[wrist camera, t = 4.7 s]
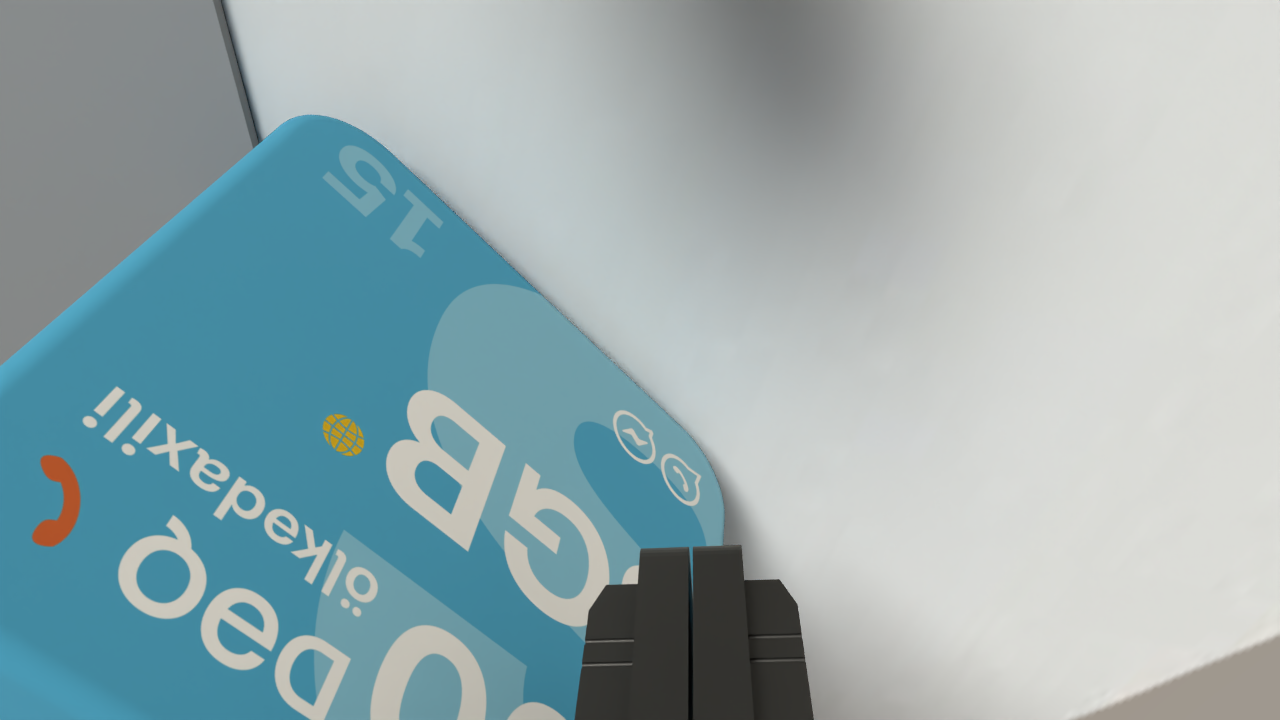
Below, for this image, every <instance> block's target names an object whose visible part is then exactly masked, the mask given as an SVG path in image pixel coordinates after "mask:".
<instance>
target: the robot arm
mask: <svg viewBox="0 0 1280 720" xmlns="http://www.w3.org/2000/svg"><path fill="white" fill-rule="evenodd" d="M574 720H814V718H813V711H812V704H811V697H810V690H809V683H808V676H807V669H806V663H805V655H804V648H803V641H802V635H801V626H800V619H799V612H798V605H797V603H796V602H795V600H794V599H793V598H792V596H791V595H790V593H789V592H788V591H787V589H786V588H785V587H784V585H783V584H782V582H781V581H780V580H779V579H778V580H744V574H743V561H742V548H741V545H725V546H694V547H693V591H692V576H691V562H690V550H689V547H670V548H641V550H640V558H639V573H638V584H617V585H606V586H605V587H604V589H603V590H602V592H601V593H600V595H599V596H598V598H597V599H596V600H595V602H594V603H593V605H592V606H591V608H590V609H589V612H588V620H587V628H586V635H585V645H584V650H583V658H582V668H581V673H580V681H579V689H578V696H577V704H576V711H575V719H574Z"/></svg>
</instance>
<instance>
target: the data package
mask: <svg viewBox="0 0 1280 720" xmlns="http://www.w3.org/2000/svg"><path fill="white" fill-rule="evenodd" d="M724 521H725V510H724V502H723V497H722V493H721V490H720V486H719V484H718V481H717V478H716V476H715V474H714V471H713V469H712V467H711V466H710V464H709V462H708V460H707V458H706V457H705V455H704V454H703V452H702V451H701V449H700V448H699V446H698V445H697V444H696V442H695V441H694V440H693V439H692V438H691V436H690V435H689V434H688V433H687V432H686V431H685V430H684V429H683V428H682V427H681V426H680V425H679V424H678V423H677V422H676V421H674V420H673V419H672V418H671V417H670V416H669V415H668V414H667V413H666V412H665V411H664V410H663V409H662V408H661V407H660V406H659V405H658V404H656V403H655V402H654V401H653V400H652V399H651V398H650V397H649V396H648V395H647V394H646V393H645V392H644V391H643V390H642V389H641V388H640V387H638V386H637V385H636V384H635V383H634V382H633V381H632V380H631V379H630V378H629V377H628V376H627V375H626V374H625V373H624V372H623V371H622V370H620V369H619V368H618V367H617V366H616V365H615V364H614V363H613V362H612V361H611V360H610V359H609V358H608V357H607V356H606V355H605V354H604V353H602V352H601V351H600V350H599V349H598V348H597V347H596V346H595V345H594V344H593V343H592V342H591V341H590V340H589V339H588V338H587V337H586V336H584V335H583V334H582V333H581V332H580V331H579V330H578V329H577V328H576V327H575V326H574V325H573V324H572V323H571V322H570V321H569V320H568V319H566V318H565V317H564V316H563V315H562V314H561V313H560V312H559V311H558V310H557V309H556V308H555V307H554V306H553V305H552V304H551V303H550V302H548V301H547V300H546V299H545V298H544V297H543V296H542V295H541V294H540V293H539V292H538V291H537V290H536V289H535V288H534V287H533V286H532V285H530V284H529V283H528V282H527V281H526V280H525V279H524V278H523V277H522V276H521V275H520V274H519V273H518V272H517V271H516V270H515V269H514V268H512V267H511V266H510V265H509V264H508V263H507V262H506V261H505V260H504V259H503V258H502V257H501V256H500V255H499V254H498V253H497V252H496V251H494V250H493V249H492V248H491V247H490V246H489V245H488V244H487V243H486V242H485V241H484V240H483V239H482V238H481V237H480V236H479V235H478V234H476V233H475V232H474V231H473V230H472V229H471V228H470V227H469V226H468V225H467V224H466V223H465V222H464V221H463V220H462V219H461V218H460V217H458V216H457V215H456V214H455V213H454V212H453V211H452V210H451V209H450V208H449V207H448V206H447V205H446V204H445V203H444V202H443V201H442V200H440V199H439V198H438V197H437V196H436V195H435V194H434V193H433V192H432V191H431V190H430V189H429V188H428V187H427V186H426V185H425V184H424V183H422V182H421V181H420V180H419V179H418V178H417V177H416V176H415V175H414V174H413V173H412V172H411V171H410V170H409V169H408V168H407V167H406V166H405V165H403V164H402V163H401V162H400V161H399V160H398V159H397V158H396V157H395V156H394V155H393V154H392V153H391V152H390V151H388V150H387V149H386V148H385V147H384V146H383V145H381V144H380V143H379V142H378V141H376V140H375V139H374V138H372V137H371V136H369V135H368V134H366V133H365V132H363V131H361V130H359V129H358V128H356V127H354V126H352V125H350V124H348V123H346V122H343V121H340V120H338V119H334V118H331V117H327V116H320V115H303V116H298V117H295V118H292V119H289V120H288V121H286V122H285V123H283V124H282V125H280V126H279V127H278V128H277V129H276V130H274V131H273V132H272V133H271V134H270V135H269V136H267V137H266V138H265V139H264V140H263V141H262V142H260V143H259V144H258V145H257V146H256V147H255V148H253V149H252V150H251V151H250V152H249V153H248V154H247V155H245V156H244V157H243V158H242V159H241V160H240V161H238V162H237V163H236V164H235V165H234V166H233V167H231V168H230V169H229V170H228V171H227V172H226V173H224V174H223V175H222V176H221V177H220V178H219V179H217V180H216V181H215V182H214V183H213V184H212V185H210V186H209V187H208V188H207V189H206V190H205V191H203V192H202V193H201V194H200V195H199V196H198V197H196V198H195V199H194V200H193V201H192V202H191V203H189V204H188V205H187V206H186V207H185V208H184V209H182V210H181V211H180V212H179V213H178V214H177V215H176V216H174V217H173V218H172V219H171V220H170V221H169V222H167V223H166V224H165V225H164V226H163V227H162V228H160V229H159V230H158V231H157V232H156V233H155V234H153V235H152V236H151V237H150V238H149V239H148V240H146V241H145V242H144V243H143V244H142V245H141V246H139V247H138V248H137V249H136V250H135V251H134V252H132V253H131V254H130V255H129V256H128V257H127V258H125V259H124V260H123V261H122V262H121V263H120V264H118V265H117V266H116V267H115V268H114V269H113V270H111V271H110V272H109V273H108V274H107V275H106V276H105V277H103V278H102V279H101V280H100V281H99V282H98V283H96V284H95V285H94V286H93V287H92V288H91V289H89V290H88V291H87V292H86V293H85V294H84V295H82V296H81V297H80V298H79V299H78V300H77V301H75V302H74V303H73V304H72V305H71V306H70V307H68V308H67V309H66V310H65V311H64V312H63V313H61V314H60V315H59V316H58V317H57V318H56V319H54V320H53V321H52V322H51V323H50V324H49V325H47V326H46V327H45V328H44V329H43V330H42V331H40V332H39V333H38V334H37V335H36V336H35V337H34V338H32V339H31V340H30V341H29V342H28V343H27V344H25V345H24V346H23V347H22V348H21V349H20V350H18V351H17V352H16V353H15V354H14V355H13V356H11V357H10V358H9V359H8V360H7V361H6V362H4V363H3V364H2V365H1V366H0V720H574V719H575V711H576V704H577V696H578V689H579V681H580V673H581V668H582V658H583V650H584V645H585V635H586V628H587V620H588V612H589V609H590V608H591V606H592V605H593V603H594V602H595V600H596V599H597V598H598V596H599V595H600V593H601V592H602V590H603V589H604V587H605V586H606V585H617V584H638V573H639V558H640V550H641V548H670V547H689V550H690V562H691V576H692V591H693V547H694V546H723V538H724Z"/></svg>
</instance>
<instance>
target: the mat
mask: <svg viewBox="0 0 1280 720" xmlns="http://www.w3.org/2000/svg"><path fill="white" fill-rule="evenodd" d="M258 144H259V143H258V139H257V135H256V132H255V128H254V124H253V120H252V117H251V113H250V109H249V105H248V102H247V98H246V94H245V91H244V87H243V83H242V79H241V76H240V72H239V68H238V64H237V61H236V57H235V53H234V49H233V46H232V42H231V38H230V35H229V31H228V27H227V23H226V20H225V16H224V12H223V8H222V5H221V1H220V0H0V366H1V365H2V364H3V363H4V362H6V361H7V360H8V359H9V358H10V357H11V356H13V355H14V354H15V353H16V352H17V351H18V350H20V349H21V348H22V347H23V346H24V345H25V344H27V343H28V342H29V341H30V340H31V339H32V338H34V337H35V336H36V335H37V334H38V333H39V332H40V331H42V330H43V329H44V328H45V327H46V326H47V325H49V324H50V323H51V322H52V321H53V320H54V319H56V318H57V317H58V316H59V315H60V314H61V313H63V312H64V311H65V310H66V309H67V308H68V307H70V306H71V305H72V304H73V303H74V302H75V301H77V300H78V299H79V298H80V297H81V296H82V295H84V294H85V293H86V292H87V291H88V290H89V289H91V288H92V287H93V286H94V285H95V284H96V283H98V282H99V281H100V280H101V279H102V278H103V277H105V276H106V275H107V274H108V273H109V272H110V271H111V270H113V269H114V268H115V267H116V266H117V265H118V264H120V263H121V262H122V261H123V260H124V259H125V258H127V257H128V256H129V255H130V254H131V253H132V252H134V251H135V250H136V249H137V248H138V247H139V246H141V245H142V244H143V243H144V242H145V241H146V240H148V239H149V238H150V237H151V236H152V235H153V234H155V233H156V232H157V231H158V230H159V229H160V228H162V227H163V226H164V225H165V224H166V223H167V222H169V221H170V220H171V219H172V218H173V217H174V216H176V215H177V214H178V213H179V212H180V211H181V210H182V209H184V208H185V207H186V206H187V205H188V204H189V203H191V202H192V201H193V200H194V199H195V198H196V197H198V196H199V195H200V194H201V193H202V192H203V191H205V190H206V189H207V188H208V187H209V186H210V185H212V184H213V183H214V182H215V181H216V180H217V179H219V178H220V177H221V176H222V175H223V174H224V173H226V172H227V171H228V170H229V169H230V168H231V167H233V166H234V165H235V164H236V163H237V162H238V161H240V160H241V159H242V158H243V157H244V156H245V155H247V154H248V153H249V152H250V151H251V150H252V149H253V148H255V147H256V146H257V145H258Z"/></svg>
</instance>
